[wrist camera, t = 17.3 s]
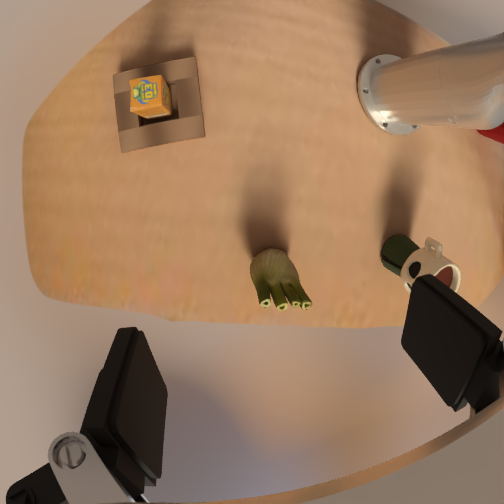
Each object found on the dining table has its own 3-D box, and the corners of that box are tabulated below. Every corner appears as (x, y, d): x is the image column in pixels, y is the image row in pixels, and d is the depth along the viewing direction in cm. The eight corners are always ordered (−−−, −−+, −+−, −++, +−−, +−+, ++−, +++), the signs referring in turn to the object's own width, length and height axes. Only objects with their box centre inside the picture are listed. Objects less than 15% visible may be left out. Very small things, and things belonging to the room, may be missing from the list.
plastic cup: (462, 85, 34) (512, 84, 23) (494, 100, 36) (539, 104, 24) (463, 142, 38) (514, 152, 27) (494, 151, 40) (539, 162, 28)
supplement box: (175, 116, 32) (162, 107, 23) (148, 119, 32) (125, 113, 22) (174, 90, 31) (161, 73, 21) (146, 94, 30) (124, 79, 21)
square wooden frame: (197, 64, 31) (195, 56, 27) (205, 137, 35) (204, 136, 31) (122, 80, 30) (112, 74, 27) (130, 151, 34) (121, 153, 30)
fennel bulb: (243, 264, 41) (254, 310, 30) (263, 235, 40) (282, 274, 29) (275, 282, 43) (296, 331, 32) (295, 256, 42) (324, 298, 31)
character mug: (378, 222, 42) (430, 254, 30) (413, 216, 42) (467, 244, 30) (375, 284, 46) (417, 328, 34) (408, 276, 46) (453, 313, 34)
